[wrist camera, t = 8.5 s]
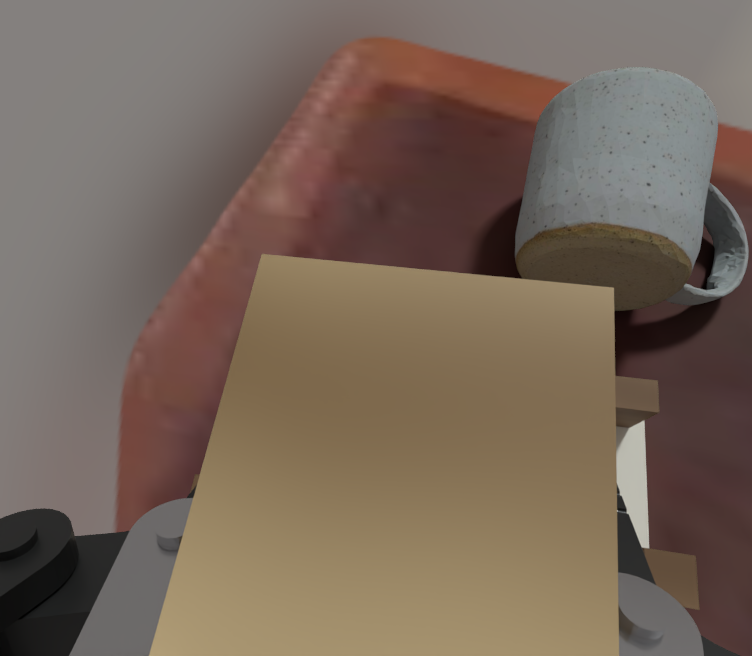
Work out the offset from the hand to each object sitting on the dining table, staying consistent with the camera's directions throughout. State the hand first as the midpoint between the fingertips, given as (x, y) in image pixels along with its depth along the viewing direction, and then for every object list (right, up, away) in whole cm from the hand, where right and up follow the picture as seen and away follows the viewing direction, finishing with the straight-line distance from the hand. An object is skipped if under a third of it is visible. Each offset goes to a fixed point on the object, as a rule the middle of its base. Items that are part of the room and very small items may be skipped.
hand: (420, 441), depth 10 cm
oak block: (0, -4, +3) cm, 5 cm away
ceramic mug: (+11, +6, +15) cm, 20 cm away
